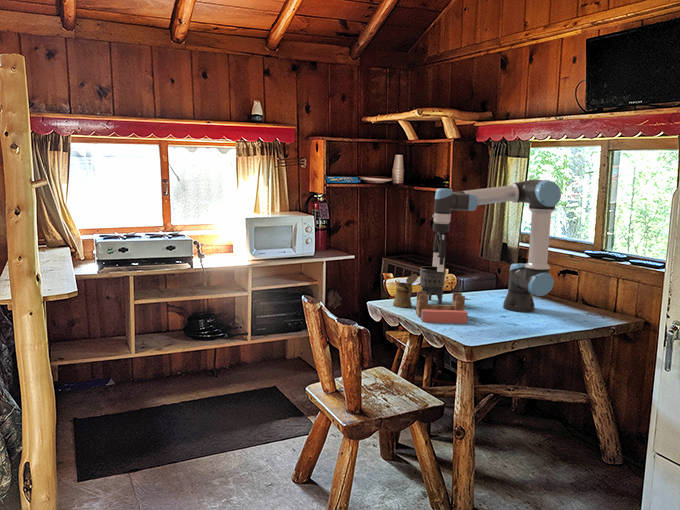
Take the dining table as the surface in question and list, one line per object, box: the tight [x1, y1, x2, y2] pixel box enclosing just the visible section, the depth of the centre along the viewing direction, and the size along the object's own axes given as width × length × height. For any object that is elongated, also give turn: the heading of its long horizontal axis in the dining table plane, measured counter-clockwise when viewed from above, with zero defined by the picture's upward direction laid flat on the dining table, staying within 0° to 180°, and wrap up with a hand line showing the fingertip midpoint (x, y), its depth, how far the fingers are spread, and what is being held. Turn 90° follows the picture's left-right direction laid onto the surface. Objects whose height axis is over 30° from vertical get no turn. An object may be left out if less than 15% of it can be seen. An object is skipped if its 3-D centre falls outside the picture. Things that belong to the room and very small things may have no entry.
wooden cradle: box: [415, 290, 466, 318], centre depth 277 cm, size 21×7×10 cm, turn 92°
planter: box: [419, 265, 447, 305], centre depth 303 cm, size 13×13×18 cm
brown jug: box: [392, 273, 419, 309], centre depth 291 cm, size 9×14×18 cm, turn 30°
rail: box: [420, 309, 468, 324], centre depth 267 cm, size 20×4×5 cm, turn 92°
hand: (437, 269), depth 271 cm, fingers open, 13 cm apart
